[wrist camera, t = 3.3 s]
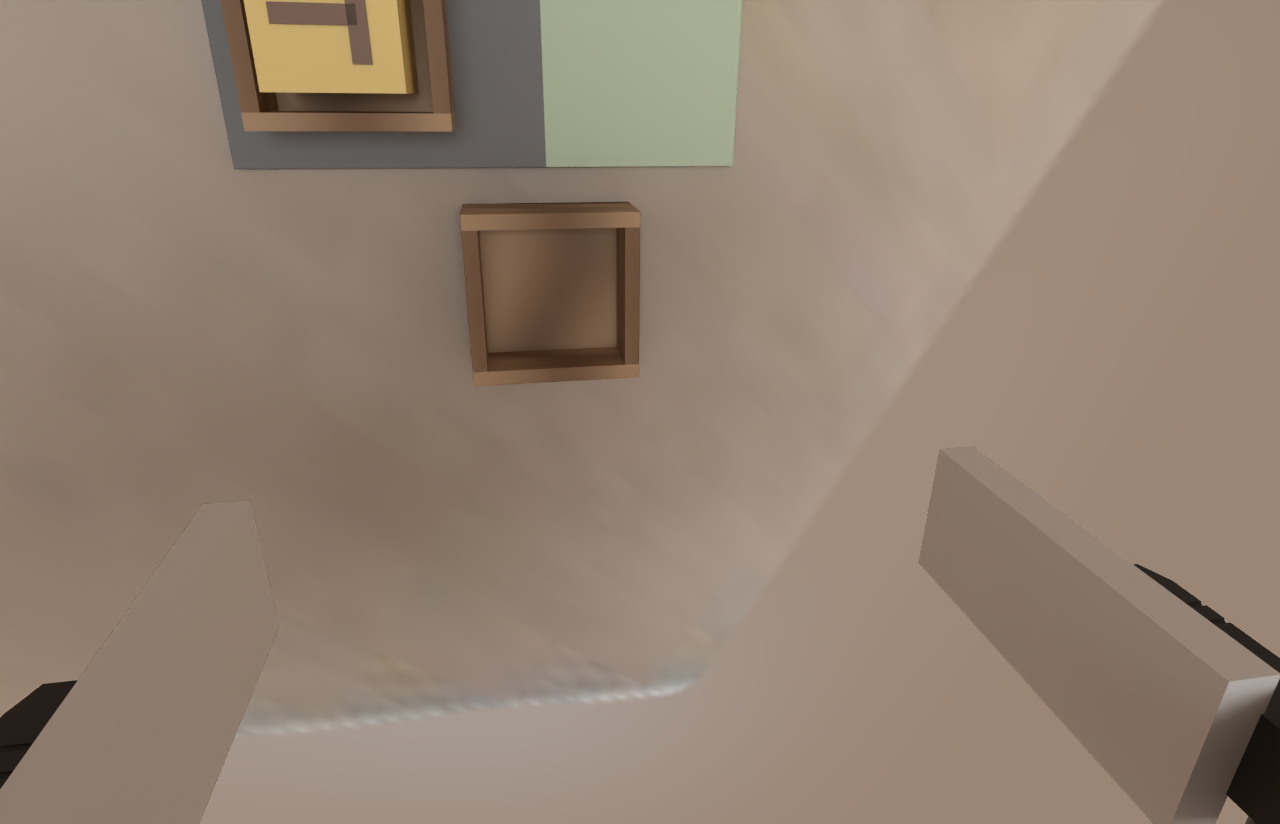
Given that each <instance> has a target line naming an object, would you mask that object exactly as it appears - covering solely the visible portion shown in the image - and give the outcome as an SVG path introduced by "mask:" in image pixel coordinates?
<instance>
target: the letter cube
mask: <svg viewBox="0 0 1280 824" xmlns="http://www.w3.org/2000/svg"><path fill="white" fill-rule="evenodd" d="M244 5H245V11H246V17H247V23H248V28H249V34H250V40H251V45H252V51H253V57H254V63H255V68H256V74H257V80H258V85H259V91H260V92H286V93H389V94H416V93H419V86H418V76H417V66H416V56H415V46H414V35H413V25H412V15H411V5H410V0H244Z"/></svg>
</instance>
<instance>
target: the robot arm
mask: <svg viewBox="0 0 1280 824" xmlns="http://www.w3.org/2000/svg"><path fill="white" fill-rule="evenodd" d="M919 564H920V565H921V566H922V567H923V568H924V569H925V570H926V572H928V574H929V575H930V576H931V577H932V578H933V579H934V580H935V582H936V583H937V584H938V585H939V586H940V587H941V588H942V589H943V590H944V592H945V593H946V594H947V595H948V596H949V597H950V598H951V599H952V600H953V601H954V603H955V604H956V605H957V606H958V607H959V608H960V609H961V610H962V612H963V613H964V614H965V615H966V616H967V617H968V618H969V619H970V620H971V622H972V623H973V624H974V625H975V626H976V627H977V628H978V629H979V631H980V632H981V633H982V634H983V635H984V636H985V637H986V638H987V639H988V641H989V642H990V643H991V644H992V645H993V646H994V647H995V648H996V649H997V651H998V652H999V653H1000V654H1001V655H1002V656H1003V657H1004V658H1005V659H1006V660H1007V662H1008V663H1009V664H1010V665H1011V666H1012V667H1013V668H1014V669H1015V671H1016V672H1018V674H1019V675H1020V676H1021V677H1022V678H1023V679H1024V680H1025V682H1026V683H1027V684H1028V685H1029V686H1030V687H1031V688H1032V689H1033V691H1034V692H1035V693H1036V694H1037V695H1038V696H1039V697H1040V698H1041V699H1042V700H1043V702H1044V703H1045V704H1046V705H1047V706H1048V707H1049V708H1050V709H1051V710H1052V712H1053V713H1054V714H1055V715H1056V716H1057V717H1058V718H1059V719H1060V721H1061V722H1062V723H1063V724H1064V725H1065V726H1066V727H1067V728H1068V729H1069V731H1070V732H1071V733H1072V734H1073V735H1074V736H1075V737H1076V738H1077V739H1078V740H1079V742H1080V743H1081V744H1082V745H1083V746H1084V747H1085V748H1086V749H1087V751H1088V752H1089V753H1090V754H1091V755H1092V756H1093V757H1094V758H1095V760H1096V761H1097V762H1098V763H1099V764H1100V765H1101V766H1102V767H1103V768H1104V770H1105V771H1106V772H1107V773H1108V774H1109V775H1110V776H1111V777H1112V778H1113V780H1114V781H1115V782H1116V783H1117V784H1118V785H1119V786H1120V787H1121V788H1122V790H1123V791H1124V792H1125V793H1126V794H1127V795H1128V796H1129V797H1130V798H1131V800H1132V801H1133V802H1134V803H1135V804H1136V805H1137V806H1138V807H1139V808H1140V810H1141V811H1142V812H1143V813H1144V814H1145V815H1146V816H1147V817H1148V819H1149V820H1150V821H1151V822H1152V823H1153V824H1215V823H1216V821H1217V819H1218V817H1219V814H1220V812H1221V810H1222V807H1223V805H1224V803H1225V801H1226V798H1227V796H1229V798H1230V799H1232V800H1233V801H1234V802H1235V803H1236V804H1237V805H1238V806H1239V807H1240V808H1241V809H1242V810H1243V811H1244V812H1245V813H1246V814H1247V815H1248V816H1249V817H1248V819H1247V821H1246V823H1245V824H1280V658H1279V657H1277V656H1276V655H1274V654H1273V653H1272V652H1270V651H1269V650H1268V649H1266V648H1265V647H1263V646H1262V645H1261V644H1259V643H1258V642H1256V641H1255V640H1254V639H1252V638H1251V637H1250V636H1248V635H1247V634H1245V633H1244V632H1243V631H1241V630H1240V629H1238V628H1237V627H1236V626H1234V625H1233V624H1231V623H1225V621H1224V618H1223V617H1222V616H1220V615H1219V614H1218V613H1216V612H1215V611H1214V610H1212V609H1211V608H1209V607H1208V606H1202V605H1201V601H1199V600H1198V599H1197V598H1196V597H1194V596H1193V595H1191V594H1190V593H1189V592H1187V591H1186V590H1184V589H1183V588H1181V587H1180V586H1179V585H1178V584H1176V583H1175V582H1173V581H1172V580H1170V579H1167V578H1165V577H1163V576H1161V575H1159V574H1157V573H1155V572H1153V571H1151V570H1148V569H1146V568H1144V567H1142V566H1140V565H1138V564H1134V565H1133V564H1132V563H1130V562H1129V561H1128V560H1126V559H1125V558H1124V557H1122V556H1121V555H1119V554H1118V553H1117V552H1116V551H1114V550H1113V549H1112V548H1110V547H1109V546H1107V545H1106V544H1105V543H1103V542H1102V541H1100V540H1099V539H1098V538H1097V537H1095V536H1094V535H1093V534H1091V533H1090V532H1089V531H1087V530H1086V529H1084V528H1083V527H1082V526H1080V525H1079V524H1078V523H1076V522H1075V521H1074V520H1072V519H1071V518H1070V517H1068V516H1067V515H1066V514H1064V513H1063V512H1062V511H1060V510H1059V509H1058V508H1056V507H1055V506H1053V505H1052V504H1051V503H1049V502H1048V501H1047V500H1045V499H1044V498H1043V497H1041V496H1040V495H1039V494H1037V493H1036V492H1035V491H1033V490H1032V489H1031V488H1029V487H1028V486H1027V485H1025V484H1024V483H1022V482H1021V481H1020V480H1018V479H1017V478H1016V477H1014V476H1013V475H1012V474H1010V473H1009V472H1007V471H1006V470H1005V469H1003V468H1002V467H1001V466H1000V465H998V464H997V463H995V462H994V461H993V460H991V459H990V458H989V457H987V456H986V455H985V454H983V453H982V452H981V451H979V450H978V449H976V448H975V447H959V448H946V449H940V450H939V455H938V460H937V466H936V471H935V476H934V482H933V487H932V493H931V498H930V504H929V509H928V514H927V519H926V525H925V530H924V536H923V542H922V546H921V552H920V557H919ZM278 629H279V625H278V621H277V616H276V612H275V608H274V603H273V599H272V594H271V590H270V585H269V581H268V576H267V572H266V567H265V563H264V558H263V554H262V549H261V545H260V541H259V536H258V532H257V527H256V523H255V518H254V514H253V509H252V505H251V500H248V501H235V502H221V503H208V504H203V505H202V506H201V508H200V509H199V510H198V512H197V513H196V515H195V516H194V517H193V519H192V520H191V522H190V523H189V525H188V526H187V527H186V529H185V530H184V532H183V533H182V534H181V536H180V537H179V539H178V540H177V541H176V543H175V544H174V546H173V547H172V548H171V550H170V551H169V553H168V554H167V555H166V557H165V558H164V560H163V561H162V563H161V564H160V565H159V567H158V568H157V570H156V571H155V572H154V574H153V575H152V577H151V578H150V579H149V581H148V582H147V584H146V585H145V586H144V588H143V589H142V591H141V592H140V593H139V595H138V596H137V598H136V599H135V601H134V602H133V603H132V605H131V606H130V608H129V609H128V610H127V612H126V613H125V615H124V616H123V617H122V619H121V620H120V622H119V623H118V624H117V626H116V627H115V629H114V630H113V631H112V633H111V634H110V636H109V637H108V639H107V640H106V641H105V643H104V644H103V646H102V647H101V648H100V650H99V651H98V653H97V654H96V655H95V657H94V658H93V660H92V661H91V662H90V664H89V665H88V667H87V668H86V669H85V671H84V672H83V674H82V675H81V677H80V678H79V679H78V680H76V681H67V682H58V683H49V684H43V685H41V686H40V687H39V688H37V689H36V690H35V691H33V692H32V693H31V694H30V695H28V696H27V697H26V698H24V699H23V700H22V701H20V702H19V703H18V704H17V705H15V706H14V707H13V708H11V709H10V710H9V711H7V712H6V713H5V714H4V715H2V717H1V718H0V824H200V821H201V819H202V816H203V814H204V811H205V809H206V806H207V804H208V801H209V799H210V797H211V794H212V792H213V789H214V787H215V784H216V781H217V779H218V777H219V774H220V772H221V769H222V767H223V764H224V762H225V759H226V757H227V754H228V752H229V749H230V747H231V744H232V742H233V740H234V737H235V735H236V732H237V730H238V727H239V725H240V722H241V720H242V717H243V715H244V713H245V710H246V708H247V705H248V703H249V700H250V698H251V695H252V693H253V690H254V688H255V685H256V683H257V680H258V678H259V675H260V673H261V671H262V668H263V666H264V663H265V661H266V658H267V656H268V653H269V651H270V648H271V646H272V643H273V641H274V638H275V636H276V633H277V631H278Z"/></svg>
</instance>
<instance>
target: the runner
mask: <svg viewBox="0 0 1280 824" xmlns="http://www.w3.org/2000/svg"><path fill="white" fill-rule="evenodd" d="M201 1H202V6H203V11H204V16H205V21H206V26H207V31H208V36H209V42H210V47H211V52H212V57H213V62H214V67H215V72H216V78H217V83H218V88H219V93H220V98H221V103H222V108H223V113H224V119H225V124H226V129H227V134H228V139H229V144H230V149H231V155H232V160H233V165H234V169H294V168H457V167H620V166H733V154H734V136H735V118H736V100H737V82H738V64H739V46H740V28H741V10H742V0H446V9H447V21H448V33H449V46H450V58H451V70H452V82H453V95H454V107H455V119H456V129H454V130H453V131H452V132H430V131H244V126H243V120H242V115H241V110H240V104H239V99H238V93H237V88H236V83H235V77H234V72H233V67H232V61H231V56H230V50H229V45H228V40H227V34H226V29H225V24H224V18H223V13H222V7H221V2H220V0H201Z"/></svg>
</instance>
